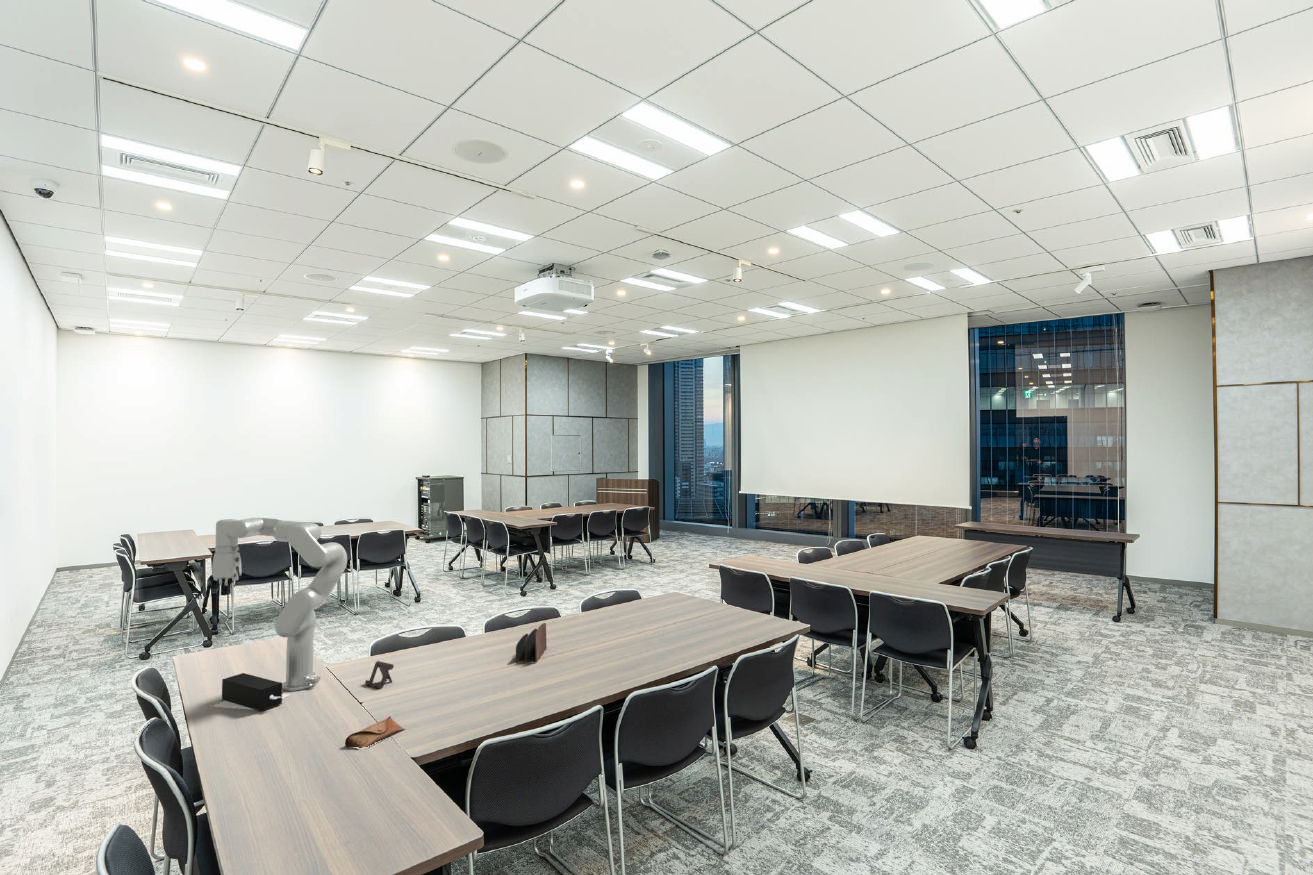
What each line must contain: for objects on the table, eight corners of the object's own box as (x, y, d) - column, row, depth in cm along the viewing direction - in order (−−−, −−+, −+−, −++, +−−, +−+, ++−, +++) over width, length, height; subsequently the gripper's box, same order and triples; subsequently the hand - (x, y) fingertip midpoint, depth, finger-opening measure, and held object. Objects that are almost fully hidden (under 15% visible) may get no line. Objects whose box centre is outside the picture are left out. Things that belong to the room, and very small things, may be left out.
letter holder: (546, 649, 298) (546, 620, 299) (536, 663, 278) (536, 632, 279) (526, 649, 299) (526, 620, 299) (515, 662, 279) (515, 631, 279)
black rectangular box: (242, 692, 242) (287, 705, 230) (221, 699, 235) (266, 713, 223) (243, 672, 243) (287, 684, 230) (221, 678, 236) (266, 691, 223)
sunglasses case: (363, 751, 195) (356, 731, 197) (349, 758, 197) (342, 738, 199) (407, 728, 212) (400, 709, 213) (394, 735, 214) (387, 717, 215)
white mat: (290, 695, 241) (290, 694, 241) (262, 710, 227) (262, 708, 227) (244, 692, 243) (244, 691, 243) (214, 706, 230) (214, 705, 230)
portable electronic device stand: (364, 685, 251) (365, 665, 251) (381, 679, 258) (381, 659, 258) (379, 689, 247) (379, 668, 247) (395, 683, 254) (396, 662, 254)
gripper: (250, 548, 255) (249, 593, 254) (218, 547, 257) (217, 592, 256) (235, 551, 247) (234, 597, 247) (202, 550, 249) (201, 596, 249)
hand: (225, 594), depth 251 cm, fingers closed
